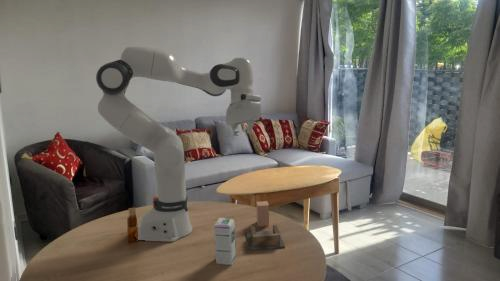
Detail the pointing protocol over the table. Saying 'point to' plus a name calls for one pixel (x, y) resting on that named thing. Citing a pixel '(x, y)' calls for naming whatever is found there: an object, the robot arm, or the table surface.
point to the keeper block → (263, 213)
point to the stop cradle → (264, 239)
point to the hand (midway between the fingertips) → (242, 134)
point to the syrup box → (225, 241)
